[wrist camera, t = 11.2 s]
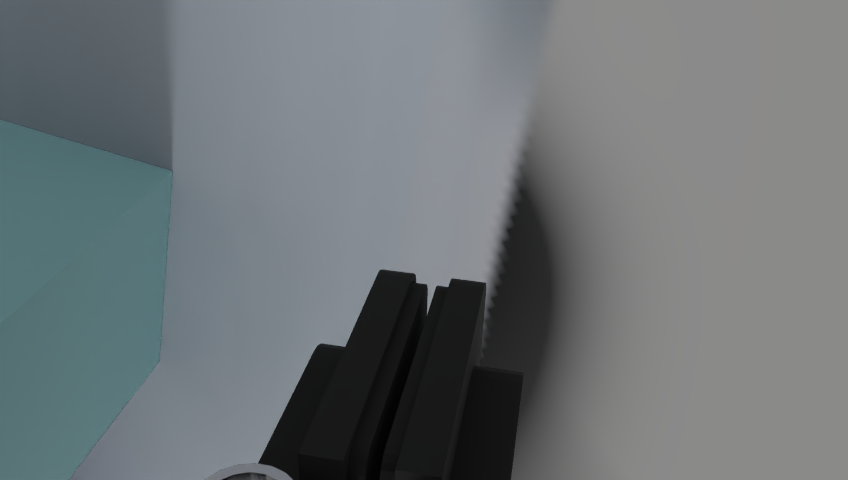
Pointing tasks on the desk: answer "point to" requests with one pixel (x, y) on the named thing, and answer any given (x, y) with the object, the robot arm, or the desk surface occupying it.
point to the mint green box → (74, 295)
